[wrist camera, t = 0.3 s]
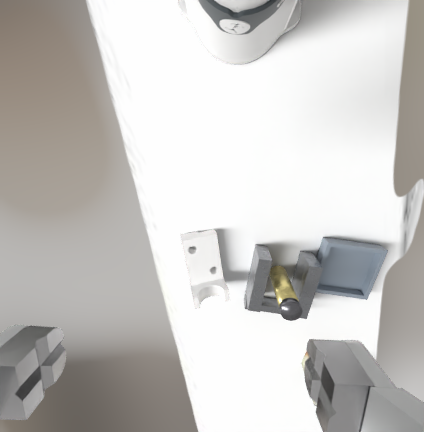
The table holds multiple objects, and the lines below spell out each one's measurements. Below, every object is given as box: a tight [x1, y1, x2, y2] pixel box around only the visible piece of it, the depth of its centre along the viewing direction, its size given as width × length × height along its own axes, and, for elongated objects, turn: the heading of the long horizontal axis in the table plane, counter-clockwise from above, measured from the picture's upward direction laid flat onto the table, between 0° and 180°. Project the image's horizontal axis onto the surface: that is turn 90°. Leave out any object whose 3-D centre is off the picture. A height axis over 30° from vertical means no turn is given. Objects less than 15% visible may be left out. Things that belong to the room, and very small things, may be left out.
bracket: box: [181, 230, 230, 309], centre depth 48 cm, size 13×7×8 cm, turn 8°
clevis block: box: [244, 245, 323, 319], centre depth 49 cm, size 14×12×6 cm
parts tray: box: [316, 237, 388, 300], centre depth 49 cm, size 12×12×2 cm
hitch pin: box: [269, 266, 303, 321], centre depth 46 cm, size 4×4×12 cm
